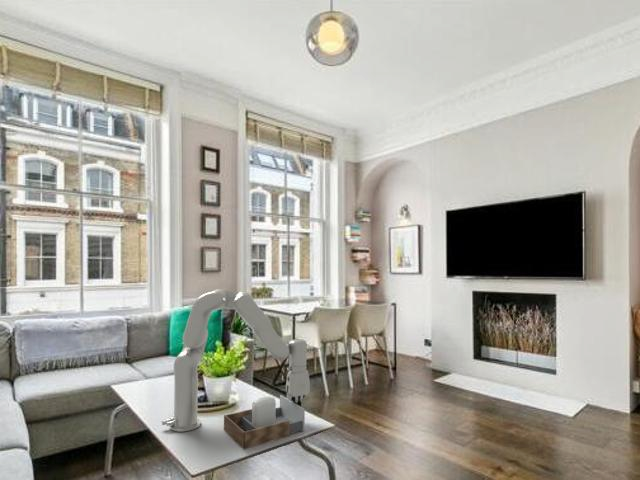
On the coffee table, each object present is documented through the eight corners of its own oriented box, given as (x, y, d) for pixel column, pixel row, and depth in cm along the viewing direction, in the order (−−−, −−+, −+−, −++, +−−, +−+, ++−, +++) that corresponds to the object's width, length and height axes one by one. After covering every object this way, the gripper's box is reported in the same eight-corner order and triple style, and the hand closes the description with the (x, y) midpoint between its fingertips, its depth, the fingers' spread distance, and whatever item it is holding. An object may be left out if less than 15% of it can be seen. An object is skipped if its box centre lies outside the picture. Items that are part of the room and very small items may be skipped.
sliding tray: (261, 443, 156) (261, 419, 156) (239, 425, 172) (240, 403, 173) (304, 430, 167) (304, 408, 168) (280, 415, 184) (281, 395, 184)
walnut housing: (243, 449, 152) (244, 432, 152) (223, 430, 168) (224, 415, 168) (289, 435, 163) (289, 420, 163) (266, 419, 180) (266, 405, 180)
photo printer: (255, 432, 163) (255, 401, 164) (250, 428, 166) (250, 398, 167) (277, 426, 169) (277, 396, 170) (271, 422, 173) (272, 393, 173)
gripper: (287, 373, 171) (287, 417, 170) (316, 367, 179) (316, 409, 178) (278, 368, 177) (278, 411, 176) (307, 363, 185) (306, 404, 185)
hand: (297, 410), depth 177 cm, fingers closed
